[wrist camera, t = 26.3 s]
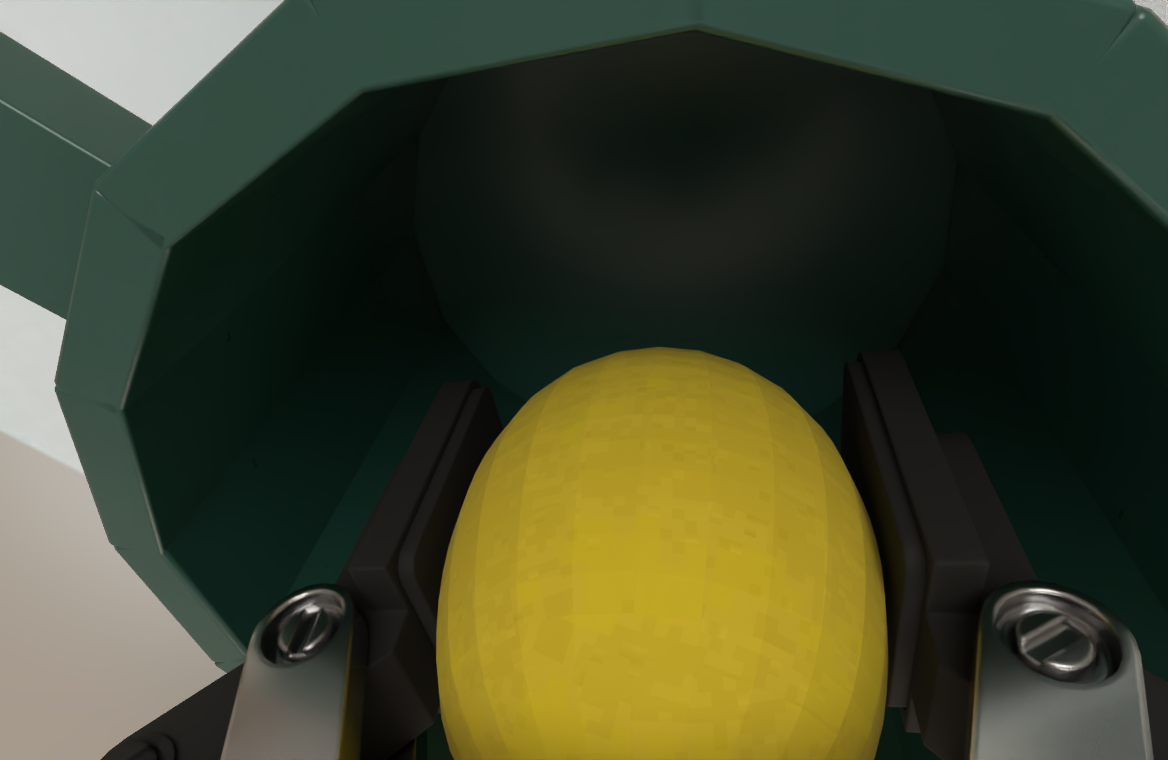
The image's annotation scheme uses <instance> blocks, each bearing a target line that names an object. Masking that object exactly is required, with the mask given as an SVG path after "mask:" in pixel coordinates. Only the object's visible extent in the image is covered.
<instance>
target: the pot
mask: <svg viewBox="0 0 1168 760" xmlns="http://www.w3.org/2000/svg"><path fill="white" fill-rule="evenodd" d="M0 285H2V286H4V287H6V288H8V289H9V290H11V291H13V292H15V293H17V294H19V295H21V296H23V297H25V298H26V299H28V300H30V301H32V302H34V303H36V304H38V305H40V306H41V307H43V308H45V309H47V310H49V311H51V312H53V313H55V314H57V315H58V316H60V317H62V318H64V319H66V320H67V321H66V326H65V331H64V336H63V341H62V346H61V351H60V356H59V361H58V366H57V371H56V376H55V384H56V386H55V392H56V395H57V398H58V400H59V403H60V406H61V409H62V412H63V414H64V417H65V420H66V423H67V426H68V428H69V431H70V434H71V437H72V439H73V442H74V445H75V448H76V451H77V453H78V456H79V459H80V462H81V465H82V467H83V470H84V473H85V476H86V479H87V481H88V484H89V487H90V490H91V493H92V495H93V498H94V501H95V504H96V507H97V509H98V512H99V515H100V518H101V520H102V523H103V526H104V529H105V532H106V534H107V537H108V540H109V542H110V543H111V544H112V545H114V547H115V550H116V551H117V552H118V553H119V554H120V555H121V556H122V558H123V559H124V560H125V561H126V562H127V563H128V565H129V566H130V567H131V568H132V569H133V570H134V571H135V573H136V574H137V575H138V576H139V577H140V578H141V579H142V581H143V582H144V583H145V584H146V585H147V586H148V587H149V589H150V590H151V591H152V592H153V593H154V594H155V595H156V596H157V598H158V599H159V600H160V601H161V602H162V604H163V605H164V606H165V607H166V608H167V609H168V610H169V612H170V613H171V614H172V615H173V616H174V617H175V618H176V620H177V621H178V622H179V623H180V624H181V625H182V627H183V628H184V629H185V630H186V631H187V632H188V633H189V635H190V636H191V637H192V638H193V639H194V640H195V641H196V643H197V644H198V645H199V646H200V647H201V648H202V649H203V651H204V652H205V653H206V654H207V655H208V656H209V658H210V659H211V660H213V661H214V662H215V665H216V666H217V667H219V668H220V669H222V670H223V671H225V672H226V673H228V672H230V671H231V670H233V669H235V668H236V667H238V666H239V665H241V664H242V663H244V662H245V658H246V654H247V650H248V646H249V642H250V639H251V637H252V635H253V632H254V630H255V627H256V626H257V624H258V623H259V622H260V620H261V619H262V618H263V616H264V615H265V613H266V612H267V611H269V610H270V609H271V608H272V607H273V606H274V605H275V604H276V603H277V602H278V601H280V600H281V599H283V598H284V597H286V596H287V595H289V594H291V593H292V592H294V591H296V590H299V589H301V588H304V587H306V586H309V585H314V584H320V583H329V584H335V583H336V581H337V579H338V577H339V575H340V573H341V571H342V570H343V568H344V566H345V564H346V562H347V560H348V558H349V556H350V554H351V552H352V550H353V548H354V546H355V544H356V543H357V541H358V539H359V537H360V535H361V533H362V531H363V529H364V527H365V525H366V523H367V521H368V519H369V517H370V515H371V514H372V512H373V510H374V508H375V506H376V504H377V502H378V500H379V498H380V496H381V494H382V492H383V490H384V488H385V486H386V485H387V483H388V481H389V479H390V477H391V475H392V473H393V471H394V469H395V468H396V466H397V465H398V463H399V462H400V461H402V460H403V459H404V457H405V455H406V453H407V451H408V449H409V447H410V445H411V443H412V441H413V439H414V437H415V435H416V433H417V431H418V429H419V427H420V425H421V423H422V421H423V419H424V418H425V416H426V414H427V412H428V410H429V408H430V406H431V404H432V402H433V400H434V398H435V396H436V394H437V392H438V390H439V388H440V387H441V385H442V384H443V383H445V382H456V381H470V380H475V381H478V383H479V384H480V386H481V388H489V390H490V391H491V393H492V395H493V398H494V402H495V405H496V408H497V411H498V414H499V417H500V420H501V423H502V426H503V429H505V427H506V426H507V425H508V424H509V422H510V421H511V420H512V419H513V418H514V416H515V415H516V414H517V413H518V412H519V410H520V409H521V408H522V407H523V406H524V405H525V404H526V403H527V401H528V400H529V399H530V398H531V397H532V396H534V395H535V394H536V393H538V392H539V391H540V390H542V389H543V388H544V387H546V386H547V385H549V384H550V383H552V382H553V381H555V380H556V379H558V378H559V377H561V376H562V375H564V374H565V373H567V372H568V371H570V370H571V369H573V368H574V367H577V366H580V365H582V364H585V363H587V362H590V361H593V360H596V359H599V358H602V357H605V356H608V355H610V354H613V353H616V352H619V351H626V350H635V349H643V348H652V347H668V348H679V349H690V350H700V351H703V352H706V353H709V354H713V355H716V356H719V357H722V358H725V359H728V360H731V361H734V362H738V363H740V364H741V365H743V366H745V367H747V368H749V369H750V370H752V371H754V372H756V373H757V374H759V375H761V376H762V377H764V378H766V379H767V380H769V381H771V382H772V383H774V384H776V385H778V386H779V387H781V388H783V389H784V390H785V391H786V392H787V393H788V394H789V395H790V396H791V397H792V398H793V399H794V400H795V401H796V402H797V403H798V404H799V405H800V406H801V407H802V408H803V409H804V410H805V411H806V412H807V413H808V414H809V415H810V416H811V417H812V418H813V419H814V420H815V421H816V422H817V423H818V424H819V425H820V426H821V427H822V428H823V430H824V431H825V432H826V434H827V435H828V436H829V438H830V439H831V440H832V442H833V443H834V445H835V447H836V449H837V450H838V452H839V454H840V452H841V427H842V403H843V378H844V365H845V363H846V362H857V357H858V354H859V352H866V351H880V350H894V349H898V350H900V352H901V354H902V356H903V358H904V361H905V363H906V365H907V368H908V370H909V373H910V375H911V377H912V380H913V382H914V384H915V387H916V389H917V391H918V394H919V396H920V399H921V401H922V403H923V406H924V408H925V410H926V413H927V415H928V418H929V420H930V422H931V425H932V427H933V429H934V432H935V434H938V433H959V432H963V433H964V434H966V435H967V436H968V437H969V439H970V440H971V442H972V444H973V446H974V448H975V450H976V452H977V454H978V456H979V458H980V460H981V462H982V464H983V467H984V469H985V471H986V473H987V475H988V477H989V479H990V481H991V483H992V485H993V487H994V489H995V491H996V494H997V496H998V498H999V500H1000V502H1001V504H1002V506H1003V508H1004V510H1005V512H1006V514H1007V516H1008V519H1009V521H1010V523H1011V525H1012V527H1013V529H1014V531H1015V533H1016V535H1017V537H1018V539H1019V541H1020V543H1021V546H1022V548H1023V550H1024V552H1025V554H1026V556H1027V558H1028V560H1029V562H1030V564H1031V566H1032V568H1033V571H1034V573H1035V575H1036V577H1037V579H1038V581H1046V582H1054V583H1058V584H1061V585H1064V586H1067V587H1070V588H1073V589H1076V590H1079V591H1081V592H1083V593H1085V594H1087V595H1088V596H1090V597H1092V598H1094V599H1096V600H1098V601H1099V602H1101V603H1103V604H1104V605H1105V606H1106V607H1107V608H1109V609H1110V610H1111V611H1112V612H1113V613H1115V614H1116V615H1117V616H1118V617H1119V618H1120V619H1121V620H1122V621H1123V622H1124V624H1125V625H1126V626H1127V628H1128V629H1129V630H1130V632H1131V633H1132V634H1133V636H1134V637H1135V640H1136V643H1137V646H1138V649H1139V652H1140V655H1141V660H1142V668H1144V669H1145V670H1147V671H1149V672H1151V673H1152V674H1154V675H1156V676H1158V677H1159V678H1161V679H1163V680H1165V681H1166V682H1168V26H1167V25H1166V24H1165V23H1164V22H1163V21H1162V20H1161V19H1160V18H1159V17H1158V16H1157V15H1156V14H1155V13H1154V12H1153V11H1152V10H1151V9H1150V8H1146V7H1143V6H1139V5H1136V3H1135V2H1134V1H1133V0H284V1H283V2H282V3H281V4H280V5H279V6H278V7H277V8H276V9H275V10H274V11H273V12H272V13H271V14H270V15H268V16H267V17H266V18H265V19H264V20H263V21H262V22H261V23H260V24H259V25H258V26H257V27H256V28H255V29H254V30H253V31H252V32H251V33H250V34H249V35H248V36H247V37H245V38H244V39H243V40H242V41H241V42H240V43H239V44H238V45H237V46H236V47H235V48H234V49H233V50H232V51H231V52H230V53H229V54H228V55H227V56H226V57H225V58H224V59H222V60H221V61H220V62H219V63H218V64H217V65H216V66H215V67H214V68H213V69H212V70H211V71H210V72H209V73H208V74H207V75H206V76H205V77H204V78H203V79H202V80H201V81H199V82H198V83H197V84H196V85H195V86H194V87H193V88H192V89H191V90H190V91H189V92H188V93H187V94H186V95H185V96H184V97H183V98H182V99H181V100H180V101H179V102H178V103H176V104H175V105H174V106H173V107H172V108H171V109H170V110H169V111H168V112H167V113H166V114H165V115H164V116H163V117H162V118H161V119H160V120H159V121H158V122H157V123H156V124H155V125H153V126H152V125H151V124H149V123H147V122H146V121H144V120H142V119H141V118H139V117H138V116H136V115H134V114H133V113H131V112H130V111H128V110H126V109H125V108H123V107H121V106H120V105H118V104H117V103H115V102H113V101H112V100H110V99H109V98H107V97H105V96H104V95H102V94H100V93H99V92H97V91H96V90H94V89H92V88H91V87H89V86H88V85H86V84H84V83H83V82H81V81H79V80H78V79H76V78H75V77H73V76H71V75H70V74H68V73H66V72H65V71H63V70H62V69H60V68H58V67H57V66H55V65H54V64H52V63H50V62H49V61H47V60H45V59H44V58H42V57H41V56H39V55H37V54H36V53H34V52H33V51H31V50H29V49H28V48H26V47H24V46H23V45H21V44H20V43H18V42H16V41H15V40H13V39H12V38H10V37H8V36H7V35H5V34H3V33H2V32H0ZM427 760H454V759H453V756H452V754H451V752H450V749H449V745H448V741H447V738H446V734H445V730H444V726H443V722H442V717H441V713H437V716H436V719H435V722H434V724H432V725H431V726H430V727H428V728H427ZM874 760H942V759H941V758H940V757H938V756H937V755H936V754H935V753H933V752H932V751H931V750H930V749H928V748H927V747H926V746H925V745H924V744H923V740H922V736H921V733H911V732H906V731H905V727H904V723H903V719H902V715H901V711H900V707H886V705H885V712H884V721H883V726H882V730H881V735H880V739H879V743H878V747H877V751H876V755H875V758H874Z"/></svg>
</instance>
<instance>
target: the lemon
mask: <svg viewBox="0 0 1168 760" xmlns="http://www.w3.org/2000/svg"><path fill="white" fill-rule="evenodd" d="M436 663H437V675H438V687H439V697H440V707H441V717H442V722H443V726H444V730H445V734H446V738H447V741H448V745H449V749H450V752H451V754H452V756H453V759H454V760H874V758H875V755H876V751H877V747H878V743H879V739H880V735H881V730H882V726H883V721H884V712H885V704H886V696H887V680H888V631H887V617H886V604H885V592H884V582H883V573H882V565H881V560H880V555H879V550H878V545H877V540H876V537H875V533H874V530H873V527H872V524H871V520H870V517H869V515H868V512H867V510H866V508H865V505H864V503H863V501H862V498H861V496H860V494H859V492H858V490H857V488H856V486H855V484H854V482H853V480H852V478H851V476H850V474H849V472H848V470H847V468H846V466H845V463H844V461H843V460H842V458H841V456H840V454H839V452H838V450H837V449H836V447H835V445H834V443H833V442H832V440H831V439H830V438H829V436H828V435H827V434H826V432H825V431H824V430H823V428H822V427H821V426H820V425H819V424H818V423H817V422H816V421H815V420H814V419H813V418H812V417H811V416H810V415H809V414H808V413H807V412H806V411H805V410H804V409H803V408H802V407H801V406H800V405H799V404H798V403H797V402H796V401H795V400H794V399H793V398H792V397H791V396H790V395H789V394H788V393H787V392H786V391H785V390H784V389H783V388H781V387H779V386H778V385H776V384H774V383H772V382H771V381H769V380H767V379H766V378H764V377H762V376H761V375H759V374H757V373H756V372H754V371H752V370H750V369H749V368H747V367H745V366H743V365H741V364H740V363H738V362H734V361H731V360H728V359H725V358H722V357H719V356H716V355H713V354H709V353H706V352H703V351H700V350H690V349H679V348H668V347H652V348H643V349H635V350H626V351H619V352H616V353H613V354H610V355H608V356H605V357H602V358H599V359H596V360H593V361H590V362H587V363H585V364H582V365H580V366H577V367H574V368H573V369H571V370H570V371H568V372H567V373H565V374H564V375H562V376H561V377H559V378H558V379H556V380H555V381H553V382H552V383H550V384H549V385H547V386H546V387H544V388H543V389H542V390H540V391H539V392H538V393H536V394H535V395H534V396H532V397H531V398H530V399H529V400H528V401H527V403H526V404H525V405H524V406H523V407H522V408H521V409H520V410H519V412H518V413H517V414H516V415H515V416H514V418H513V419H512V420H511V421H510V422H509V424H508V425H507V426H506V427H505V429H504V430H503V431H502V432H501V433H500V435H499V436H498V437H497V438H496V440H495V441H494V443H493V444H492V445H491V447H490V448H489V450H488V451H487V453H486V454H485V456H484V458H483V460H482V461H481V463H480V465H479V467H478V469H477V471H476V472H475V475H474V477H473V480H472V482H471V484H470V487H469V489H468V491H467V494H466V497H465V500H464V502H463V505H462V508H461V511H460V513H459V516H458V519H457V522H456V525H455V528H454V531H453V534H452V537H451V541H450V544H449V547H448V551H447V555H446V560H445V565H444V569H443V574H442V581H441V588H440V595H439V603H438V616H437V628H436Z"/></svg>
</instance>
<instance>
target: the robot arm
mask: <svg viewBox="0 0 1168 760" xmlns="http://www.w3.org/2000/svg"><path fill="white" fill-rule="evenodd" d="M503 430H504V429H503V426H502V423H501V420H500V417H499V414H498V411H497V408H496V405H495V402H494V398H493V395H492V393H491V391H490V390H489V388H481V386H480V384H479V383H478V381H475V380H470V381H456V382H445V383H443V384H442V385H441V387H440V388H439V390H438V392H437V394H436V396H435V398H434V400H433V402H432V404H431V406H430V408H429V410H428V412H427V414H426V416H425V418H424V419H423V421H422V423H421V425H420V427H419V429H418V431H417V433H416V435H415V437H414V439H413V441H412V443H411V445H410V447H409V449H408V451H407V453H406V455H405V457H404V459H403V460H402V461H400V462H399V463H398V465H397V466H396V468H395V469H394V471H393V473H392V475H391V477H390V479H389V481H388V483H387V485H386V486H385V488H384V490H383V492H382V494H381V496H380V498H379V500H378V502H377V504H376V506H375V508H374V510H373V512H372V514H371V515H370V517H369V519H368V521H367V523H366V525H365V527H364V529H363V531H362V533H361V535H360V537H359V539H358V541H357V543H356V544H355V546H354V548H353V550H352V552H351V554H350V556H349V558H348V560H347V562H346V564H345V566H344V568H343V570H342V571H341V573H340V575H339V577H338V579H337V581H336V583H335V584H329V583H320V584H314V585H309V586H306V587H304V588H301V589H299V590H296V591H294V592H292V593H291V594H289V595H287V596H286V597H284V598H283V599H281V600H280V601H278V602H277V603H276V604H275V605H274V606H273V607H272V608H271V609H270V610H269V611H267V612H266V613H265V615H264V616H263V618H262V619H261V620H260V622H259V623H258V624H257V626H256V627H255V630H254V632H253V635H252V637H251V639H250V642H249V646H248V650H247V654H246V658H245V662H244V663H242V664H241V665H239V666H238V667H236V668H235V669H233V670H231V671H230V672H228V673H227V674H225V675H224V676H222V677H221V678H219V679H217V680H216V681H214V682H213V683H211V684H210V685H208V686H207V687H205V688H203V689H202V690H200V691H199V692H197V693H196V694H194V695H193V696H191V697H190V698H188V699H186V700H185V701H183V702H182V703H180V704H179V705H177V706H175V707H174V708H172V709H171V710H169V711H168V712H166V713H164V714H163V715H161V716H160V717H158V718H157V719H155V720H154V721H152V722H151V723H149V724H147V725H146V726H144V727H143V728H141V729H140V730H138V731H137V732H135V733H133V734H132V735H130V736H129V737H127V738H126V739H124V740H123V741H122V742H121V743H119V744H118V745H117V746H115V747H114V748H113V749H111V750H110V751H109V752H108V753H107V754H106V755H105V756H104V757H103V758H102V759H101V760H427V728H428V727H430V726H431V725H432V724H434V722H435V719H436V716H437V713H441V707H440V697H439V687H438V675H437V663H436V628H437V616H438V603H439V595H440V588H441V581H442V574H443V569H444V565H445V560H446V555H447V551H448V547H449V544H450V541H451V537H452V534H453V531H454V528H455V525H456V522H457V519H458V516H459V513H460V511H461V508H462V505H463V502H464V500H465V497H466V494H467V491H468V489H469V487H470V484H471V482H472V480H473V477H474V475H475V472H476V471H477V469H478V467H479V465H480V463H481V461H482V460H483V458H484V456H485V454H486V453H487V451H488V450H489V448H490V447H491V445H492V444H493V443H494V441H495V440H496V438H497V437H498V436H499V435H500V433H501V432H502V431H503ZM840 456H841V458H842V460H843V461H844V463H845V466H846V468H847V470H848V472H849V474H850V476H851V478H852V480H853V482H854V484H855V486H856V488H857V490H858V492H859V494H860V496H861V498H862V501H863V503H864V505H865V508H866V510H867V512H868V515H869V517H870V520H871V524H872V527H873V530H874V533H875V537H876V540H877V545H878V550H879V555H880V560H881V565H882V573H883V582H884V592H885V604H886V617H887V631H888V680H887V696H886V704H885V705H886V707H900V711H901V715H902V719H903V723H904V727H905V731H906V732H911V733H921V736H922V740H923V744H924V745H925V746H926V747H927V748H928V749H930V750H931V751H932V752H933V753H935V754H936V755H937V756H938V757H940V758H941V759H942V760H1168V682H1166V681H1165V680H1163V679H1161V678H1159V677H1158V676H1156V675H1154V674H1152V673H1151V672H1149V671H1147V670H1145V669H1144V668H1142V660H1141V655H1140V652H1139V649H1138V646H1137V643H1136V640H1135V637H1134V636H1133V634H1132V633H1131V632H1130V630H1129V629H1128V628H1127V626H1126V625H1125V624H1124V622H1123V621H1122V620H1121V619H1120V618H1119V617H1118V616H1117V615H1116V614H1115V613H1113V612H1112V611H1111V610H1110V609H1109V608H1107V607H1106V606H1105V605H1104V604H1103V603H1101V602H1099V601H1098V600H1096V599H1094V598H1092V597H1090V596H1088V595H1087V594H1085V593H1083V592H1081V591H1079V590H1076V589H1073V588H1070V587H1067V586H1064V585H1061V584H1058V583H1054V582H1046V581H1038V579H1037V577H1036V575H1035V573H1034V571H1033V568H1032V566H1031V564H1030V562H1029V560H1028V558H1027V556H1026V554H1025V552H1024V550H1023V548H1022V546H1021V543H1020V541H1019V539H1018V537H1017V535H1016V533H1015V531H1014V529H1013V527H1012V525H1011V523H1010V521H1009V519H1008V516H1007V514H1006V512H1005V510H1004V508H1003V506H1002V504H1001V502H1000V500H999V498H998V496H997V494H996V491H995V489H994V487H993V485H992V483H991V481H990V479H989V477H988V475H987V473H986V471H985V469H984V467H983V464H982V462H981V460H980V458H979V456H978V454H977V452H976V450H975V448H974V446H973V444H972V442H971V440H970V439H969V437H968V436H967V435H966V434H964V433H963V432H959V433H938V434H935V432H934V429H933V427H932V425H931V422H930V420H929V418H928V415H927V413H926V410H925V408H924V406H923V403H922V401H921V399H920V396H919V394H918V391H917V389H916V387H915V384H914V382H913V380H912V377H911V375H910V373H909V370H908V368H907V365H906V363H905V361H904V358H903V356H902V354H901V352H900V350H898V349H894V350H880V351H866V352H859V354H858V357H857V362H846V363H845V365H844V378H843V403H842V427H841V452H840Z"/></svg>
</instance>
